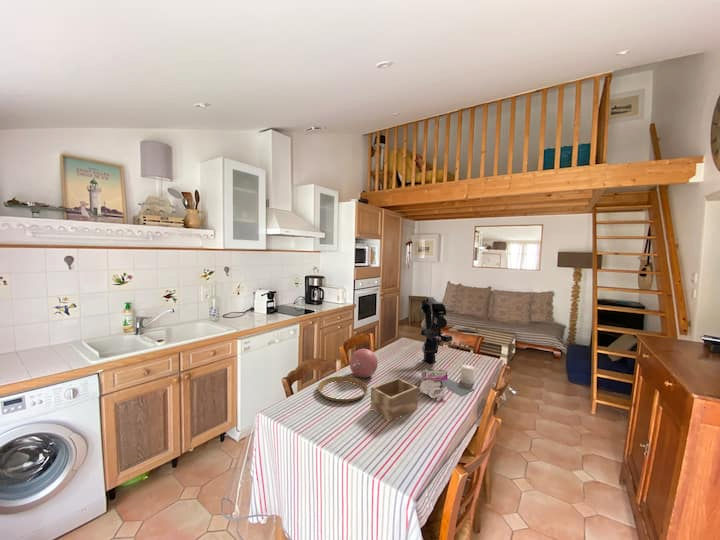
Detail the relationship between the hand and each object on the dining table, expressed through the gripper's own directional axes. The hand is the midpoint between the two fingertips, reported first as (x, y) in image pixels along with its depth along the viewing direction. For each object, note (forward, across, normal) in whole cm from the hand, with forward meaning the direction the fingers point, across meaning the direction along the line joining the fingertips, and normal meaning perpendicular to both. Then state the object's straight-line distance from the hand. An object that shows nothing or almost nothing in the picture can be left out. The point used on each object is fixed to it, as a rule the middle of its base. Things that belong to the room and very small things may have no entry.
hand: (435, 349), depth 176 cm
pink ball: (+13, -17, -42) cm, 47 cm away
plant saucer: (+13, -10, -60) cm, 62 cm away
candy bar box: (+10, +8, -13) cm, 18 cm away
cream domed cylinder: (+13, +20, +2) cm, 24 cm away
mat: (+12, +19, -12) cm, 26 cm away
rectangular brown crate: (+12, +16, -51) cm, 55 cm away
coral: (+11, +17, -33) cm, 38 cm away
